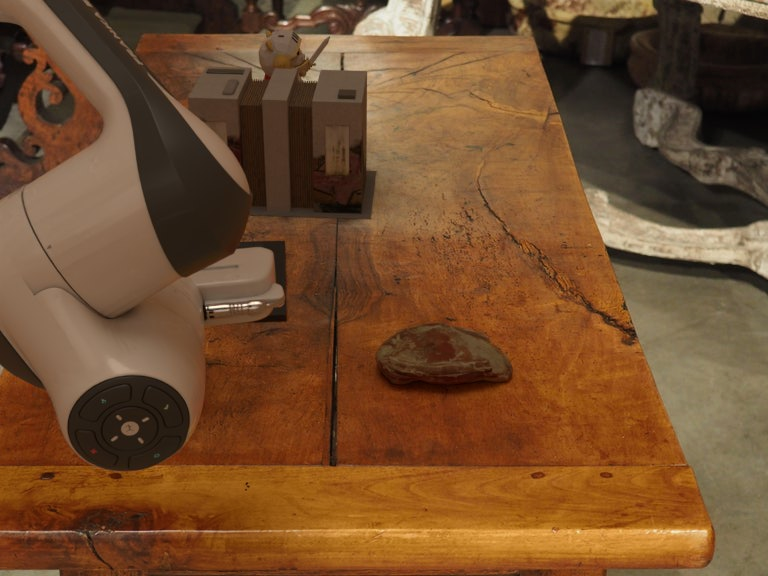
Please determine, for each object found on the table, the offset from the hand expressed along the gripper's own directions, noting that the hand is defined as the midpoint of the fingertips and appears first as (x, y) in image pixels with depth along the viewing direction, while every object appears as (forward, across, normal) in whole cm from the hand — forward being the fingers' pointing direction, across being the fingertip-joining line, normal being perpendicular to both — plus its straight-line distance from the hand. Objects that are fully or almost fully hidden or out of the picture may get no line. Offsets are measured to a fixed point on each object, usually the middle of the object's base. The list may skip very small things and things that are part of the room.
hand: (149, 256), depth 89 cm
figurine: (+84, -18, +9) cm, 87 cm away
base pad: (+34, -6, +16) cm, 38 cm away
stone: (+13, -28, +20) cm, 37 cm away
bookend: (+59, -15, +13) cm, 62 cm away
